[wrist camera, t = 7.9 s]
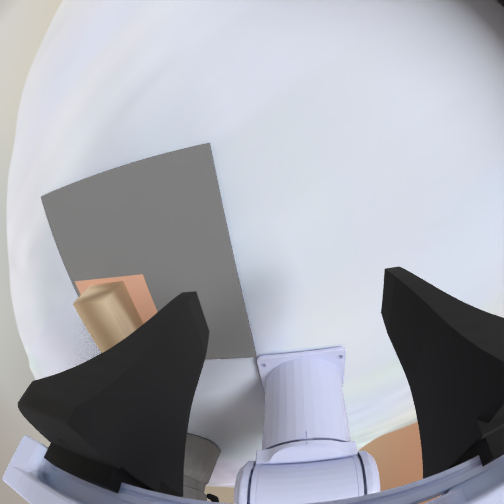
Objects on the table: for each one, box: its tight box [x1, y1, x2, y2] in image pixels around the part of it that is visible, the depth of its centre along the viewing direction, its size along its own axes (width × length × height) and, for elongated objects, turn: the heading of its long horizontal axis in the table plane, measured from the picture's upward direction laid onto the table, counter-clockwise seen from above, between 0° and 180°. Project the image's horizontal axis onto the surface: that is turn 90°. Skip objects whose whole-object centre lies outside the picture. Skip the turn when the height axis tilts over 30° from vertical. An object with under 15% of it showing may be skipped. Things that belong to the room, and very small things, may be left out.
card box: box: [73, 281, 143, 353], centre depth 22 cm, size 4×7×3 cm, turn 12°
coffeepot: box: [183, 433, 221, 502], centre depth 27 cm, size 15×9×18 cm, turn 42°
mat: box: [41, 143, 256, 359], centre depth 21 cm, size 18×16×1 cm
